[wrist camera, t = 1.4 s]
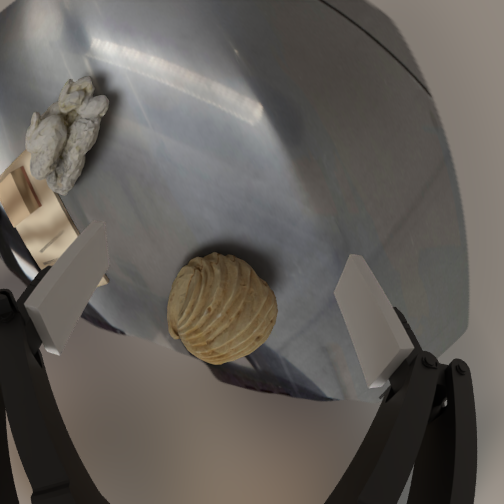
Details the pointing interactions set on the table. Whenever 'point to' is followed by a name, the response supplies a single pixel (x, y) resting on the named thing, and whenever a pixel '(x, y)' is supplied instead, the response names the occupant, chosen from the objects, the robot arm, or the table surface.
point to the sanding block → (18, 196)
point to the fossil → (220, 308)
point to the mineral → (65, 135)
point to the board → (45, 221)
